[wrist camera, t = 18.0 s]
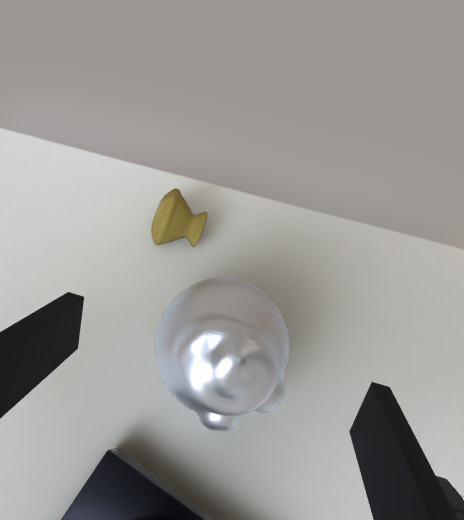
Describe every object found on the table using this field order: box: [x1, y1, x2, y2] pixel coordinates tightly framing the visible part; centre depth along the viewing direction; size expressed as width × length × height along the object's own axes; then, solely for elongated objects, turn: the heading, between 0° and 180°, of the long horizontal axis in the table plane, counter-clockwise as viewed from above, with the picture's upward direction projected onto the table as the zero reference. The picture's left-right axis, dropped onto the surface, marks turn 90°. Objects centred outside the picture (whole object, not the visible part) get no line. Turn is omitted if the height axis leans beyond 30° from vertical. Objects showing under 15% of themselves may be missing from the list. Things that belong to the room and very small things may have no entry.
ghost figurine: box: [155, 278, 290, 431], centre depth 21 cm, size 9×10×10 cm
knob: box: [151, 188, 207, 247], centre depth 28 cm, size 5×5×5 cm
